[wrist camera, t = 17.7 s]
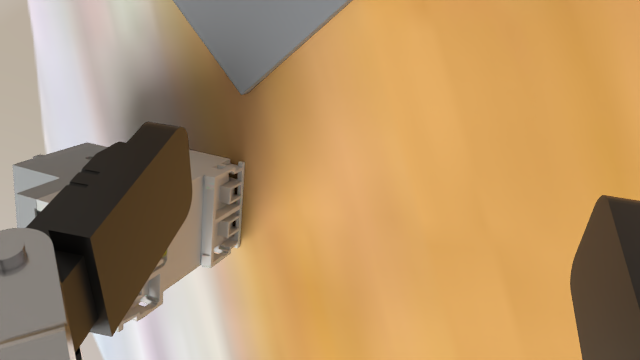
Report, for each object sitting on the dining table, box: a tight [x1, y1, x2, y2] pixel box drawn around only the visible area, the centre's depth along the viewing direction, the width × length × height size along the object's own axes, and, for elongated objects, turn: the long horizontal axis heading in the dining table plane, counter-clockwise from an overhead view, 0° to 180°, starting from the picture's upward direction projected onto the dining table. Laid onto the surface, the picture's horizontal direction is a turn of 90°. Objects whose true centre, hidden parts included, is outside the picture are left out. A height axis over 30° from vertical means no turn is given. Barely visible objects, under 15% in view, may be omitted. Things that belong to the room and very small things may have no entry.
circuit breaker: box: [13, 143, 245, 332], centre depth 46 cm, size 8×14×15 cm, turn 84°
